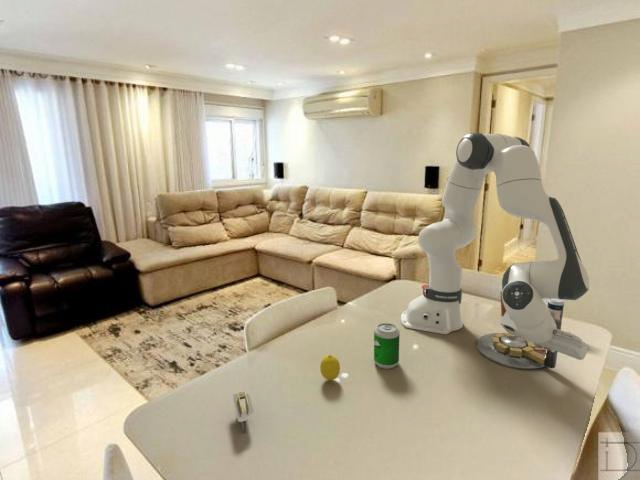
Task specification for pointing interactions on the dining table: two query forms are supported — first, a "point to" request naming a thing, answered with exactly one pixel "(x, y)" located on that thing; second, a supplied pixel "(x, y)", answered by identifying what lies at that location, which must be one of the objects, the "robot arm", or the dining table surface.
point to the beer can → (556, 308)
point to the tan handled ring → (527, 349)
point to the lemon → (330, 367)
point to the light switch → (241, 415)
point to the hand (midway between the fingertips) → (549, 348)
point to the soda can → (386, 345)
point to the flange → (506, 359)
